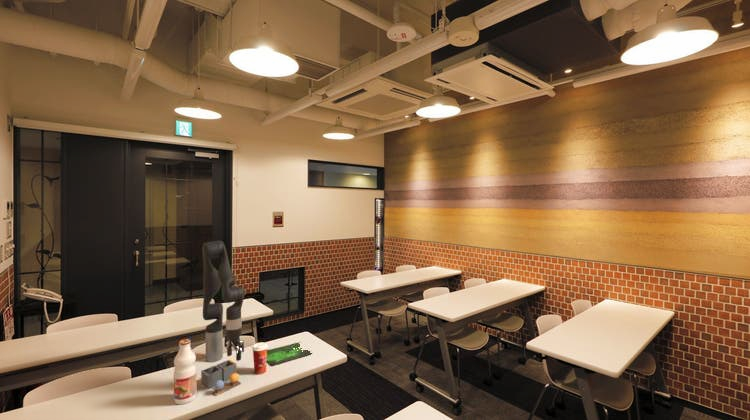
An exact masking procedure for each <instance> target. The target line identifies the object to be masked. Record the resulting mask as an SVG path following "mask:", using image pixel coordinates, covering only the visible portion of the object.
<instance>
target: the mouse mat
mask: <svg viewBox="0 0 750 420" xmlns="http://www.w3.org/2000/svg"><path fill="white" fill-rule="evenodd" d="M299 343H300V342H293V343H291V344H287V345H284V346H279V347H274V348H270V349H267V362H266V363H267V364H268V365H269V366H271V367H272V366H273V367H274V366H277V365H281V364H284V363H288V362H292V361H295V360H298V359H299V360H300V359H302V358H305V357H308V356H312V355H313V354H312V353H313V352H312V353H310V351H311V350H310V351H308V350H303V352H302V350H301V349H302V348H300V349H299V348H298V347H300V344H299ZM293 348H295V350H294V349H293ZM296 348H297V349H296ZM297 350H298V351H297ZM311 354H312V355H311Z"/></svg>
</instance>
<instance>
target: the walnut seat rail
mask: <svg viewBox="0 0 750 420" xmlns="http://www.w3.org/2000/svg"><path fill="white" fill-rule="evenodd" d="M240 385H241V382H240V381H239V380H238V381H237V382H235V383H232V382H230V384H229V385H227V386H225V387H223V388H222V389H221V390H216V389H214V391H212V395H214V396H215V397H217V396H219V395H221V394H224V393H225V392H228V391H230V390H232V389H233V388H235V387H237V386H240Z"/></svg>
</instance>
